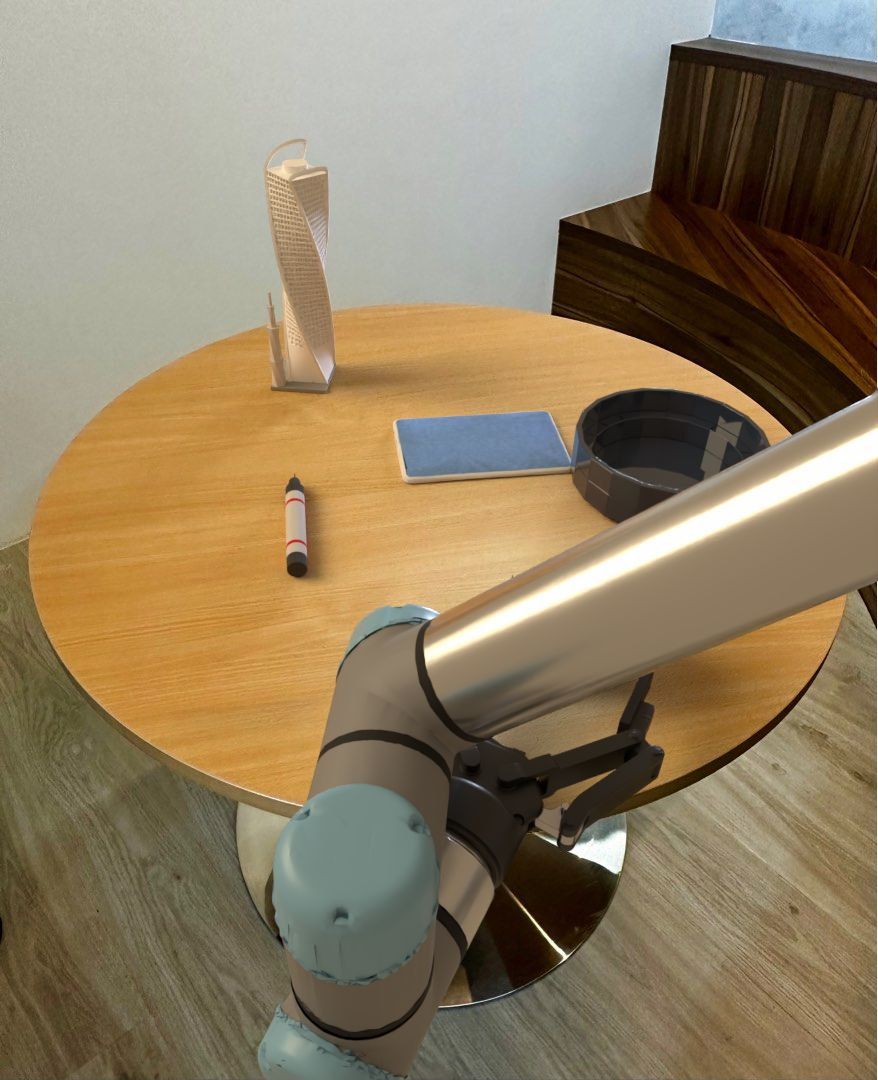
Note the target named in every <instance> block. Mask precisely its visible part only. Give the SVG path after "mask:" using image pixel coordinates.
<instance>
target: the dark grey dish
mask: <svg viewBox="0 0 878 1080" xmlns="http://www.w3.org/2000/svg"><path fill="white" fill-rule="evenodd" d="M572 444H573V445H572V452H571V457H570V459H571V465H570V467H571V473H570V474H571V479H572V484H573V485H574V487H575V488H576V489H577V492H578V493H579V494H580V495H581V497H582V498H583V500H584V501H585V502H587V503H588V504H589V505H590V506H592V507H593V508H594V509H596V510H597V511H598V512H600V513H601V514H602V515H604V516H605V517H607V518H609V519H612V520H614V521H616V522H618V523H621V522H623V521H625V520H627V519H629V518H631V517H633V516H635V515H637V514H639V513H640V512H642V511H644V510H646V509H648V508H650V507H652V506H654V505H656V504H658V503H660V502H662V501H664V500H666V499H668V498H670V497H672V496H674V495H676V494H678V493H680V492H682V491H684V490H686V489H688V488H690V487H692V486H694V485H696V484H698V483H699V482H701V481H703V480H705V479H707V478H709V477H711V476H713V475H715V474H717V473H719V472H721V471H723V470H725V469H727V468H729V467H731V466H733V465H735V464H737V463H739V462H741V461H743V460H745V459H747V458H749V457H751V456H753V455H755V454H756V453H758V452H760V451H762V450H764V449H766V448H768V447H770V446H772V445H771V443H770V441H769V439H768V437H767V434H766V432H765V430H763V428H762V427H760V426H759V425H758V424H757V423H756V422H755V421H754V419H752V418H751V417H750V416H749V415H747V414H745V413H744V412H743V411H740V410H739V409H737V408H735V407H733V406H732V405H729V404H728V403H726V402H723V401H721V400H719V399H716V398H712V397H709V396H707V395H704V394H701V393H697V392H693V391H687V390H681V389H676V388H666V387H664V388H663V387H637V388H632V389H631V388H630V389H624V390H618V391H615V392H613V393H610V394H607V395H604V396H601V397H599V398H596V399H595V400H594V401H592V402H591V403H590V404H588V406H587V407H585V408H584V409H583V410H582V411H581V413H580V415H579V417H578V420H577V422H576V424H575V431H574V437H573V443H572Z"/></svg>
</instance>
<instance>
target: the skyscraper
mask: <svg viewBox="0 0 878 1080" xmlns="http://www.w3.org/2000/svg"><path fill="white" fill-rule="evenodd" d="M296 144H302V150H301V153H300V154H301V155H300V158H288V159H284V160H283V161H282V162H281V165H279V166H278V165H277V166H273V167H269V165H270V163H271V161H272V159H273V158H274V156H275V155H276V154H277V153H278V152H279V151H281V150H282V149H284V148H286V147H289V146H292V145H296ZM307 149H308V140H307V139H305V138H295V139H290V140H287V141H285V142H283V143H281V144H279V145H278V146H277V147H274V149H273V150H272V151H271V152H270V153H269V156H267V159H266V162H265V164H264V166H263V179H264V187H265V197H266V205H267V206H266V207H267V214H268V221H269V227H270V234H271V240H272V246H273V250H274V254H275V255H274V256H275V260H276V263H277V264H276V265H277V268H278V271H279V275H280V279H281V299H282V300H281V301H282V302H281V304H282V324H283V326H282V327H283V339H284V353H285V358H284V356H283V351H282V345H281V340H280V324H278V323H277V322H276V315H275V305H274V304H273V301H272V300H273V299H272V291H271V290H270V291H269V290H268V291H267V297H268V304H267V312H268V324H267V326H266V331H267V336H268V344H269V359H268V361H269V364H270V369H271V385H270V390H271V391H279V392H281V391H282V392H296V393H311V394H322V395H323V394H324V395H327V391H328V389H329V387H330V384H331V381H332V378H333V376H334V373H335V371H336V368H337V360H336V359H337V357H336V340H335V327H334V317H333V309H332V302H331V295H330V289H329V285H328V281H327V277H326V272H325V266H326V261H327V260H326V259H327V253H328V246H329V237H330V215H331V213H330V212H331V206H330V205H331V203H330V201H331V200H330V199H331V198H330V197H331V195H330V168H328V166H313V165H311V164H309V162H308V161H307V160H306V159H305V158H306V153H307Z"/></svg>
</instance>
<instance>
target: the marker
mask: <svg viewBox="0 0 878 1080" xmlns="http://www.w3.org/2000/svg"><path fill="white" fill-rule="evenodd" d="M304 488H305V487H304V485H302V483H301V480H300V479H299V477H296V473H293V477H290V479H289V480H288V484H287V485H286V486H285V501H284V502H285V503H284V504H285V505H284V507H285V508H284V509H285V554H286V555H285V559H286V572H287V574H288V575H289V576H290V577H293V578H300V577H303V576H305V575H306V574H307V572H308V547H307V522H306V521H307V520H306V501H305V499H306V498H305V489H304Z"/></svg>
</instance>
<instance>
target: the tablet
mask: <svg viewBox="0 0 878 1080" xmlns="http://www.w3.org/2000/svg"><path fill="white" fill-rule="evenodd" d="M557 427H558V426H556V423H555V420H554V419H553V416H552V414H551V413H550V412H548V411H546V410H531V411H530V410H529V411H516V412H515V411H514V412H513V411H512V412H499V413H497V412H496V413H484V414H483V413H481V414H466V415H463V414H462V415H445V416H431V417H430V416H429V417H428V416H427V417H411V418H409V417H408V418H397V419H396V420H394V421H393V422H392V432H393V439H394V444H395V449H396V453H397V459H398V462H399V469H400V474H401V479H402V481H403V483H405V484H406V485H416V484H417V485H418V484H427V483H437V482H449V481H462V480H463V481H464V480H476V479H477V480H478V479H492V478H508V477H521V476H523V477H524V476H536V475H539V476H541V475H552V474H553V475H555V474H556V475H557V474H571V467H570V465H571V456H570V454H569V453H568V450H567V447H566V446H565V443H564V440H563V438H562V437H561V434H560V432H559V429H558V428H557Z"/></svg>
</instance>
